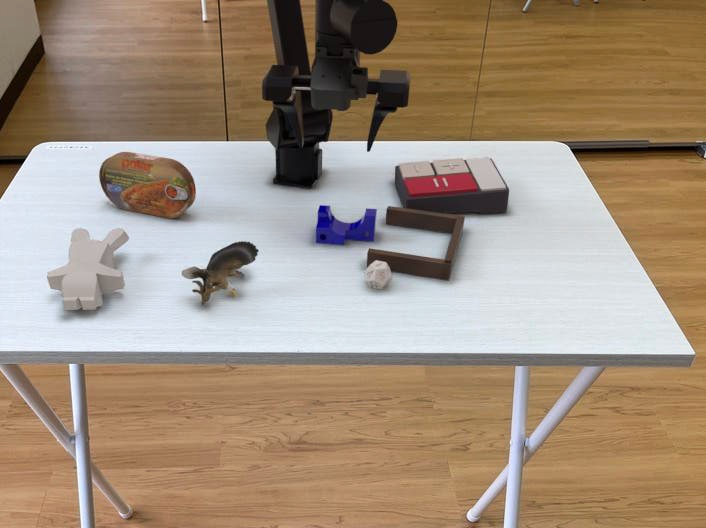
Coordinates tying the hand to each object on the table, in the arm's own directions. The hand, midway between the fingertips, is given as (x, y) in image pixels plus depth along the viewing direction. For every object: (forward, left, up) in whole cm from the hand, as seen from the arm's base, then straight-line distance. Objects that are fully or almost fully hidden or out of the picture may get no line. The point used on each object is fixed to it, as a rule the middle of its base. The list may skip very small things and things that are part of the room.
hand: (334, 148), depth 106 cm
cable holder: (+3, -4, -11) cm, 12 cm away
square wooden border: (+13, -4, -11) cm, 17 cm away
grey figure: (-26, -24, -11) cm, 37 cm away
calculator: (+15, +12, -11) cm, 22 cm away
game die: (+10, -14, -11) cm, 21 cm away
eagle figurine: (-9, -21, -11) cm, 26 cm away
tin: (-27, -4, -11) cm, 30 cm away
